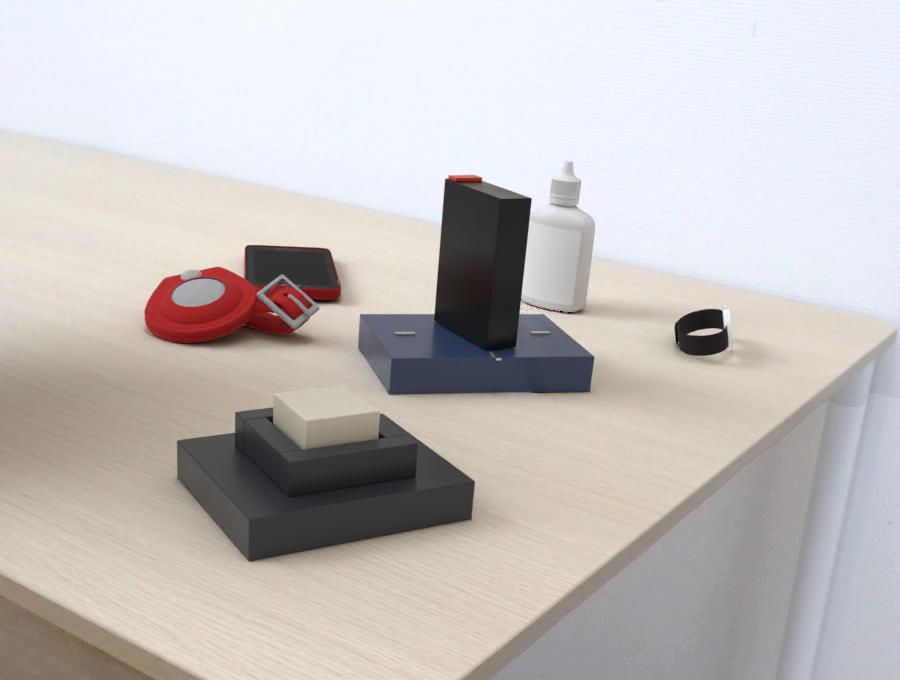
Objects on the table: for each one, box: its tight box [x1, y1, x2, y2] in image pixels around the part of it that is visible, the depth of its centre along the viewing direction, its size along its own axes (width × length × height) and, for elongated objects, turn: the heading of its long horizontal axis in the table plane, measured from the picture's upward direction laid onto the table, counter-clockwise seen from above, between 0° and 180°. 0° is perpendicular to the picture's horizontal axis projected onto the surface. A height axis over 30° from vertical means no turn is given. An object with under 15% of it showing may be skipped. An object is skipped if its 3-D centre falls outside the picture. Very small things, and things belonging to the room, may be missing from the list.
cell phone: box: [243, 244, 342, 301], centre depth 100 cm, size 8×15×1 cm, turn 9°
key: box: [272, 384, 381, 450], centre depth 59 cm, size 4×4×2 cm
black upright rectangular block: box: [433, 174, 533, 350], centre depth 79 cm, size 7×2×10 cm, turn 31°
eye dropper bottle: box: [521, 160, 596, 313], centre depth 97 cm, size 4×6×12 cm
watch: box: [673, 304, 735, 357], centre depth 90 cm, size 8×5×4 cm, turn 170°
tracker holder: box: [143, 266, 321, 344], centre depth 86 cm, size 12×4×10 cm
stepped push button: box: [176, 406, 476, 563], centre depth 60 cm, size 12×10×4 cm
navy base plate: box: [357, 313, 595, 396], centre depth 81 cm, size 14×11×3 cm
